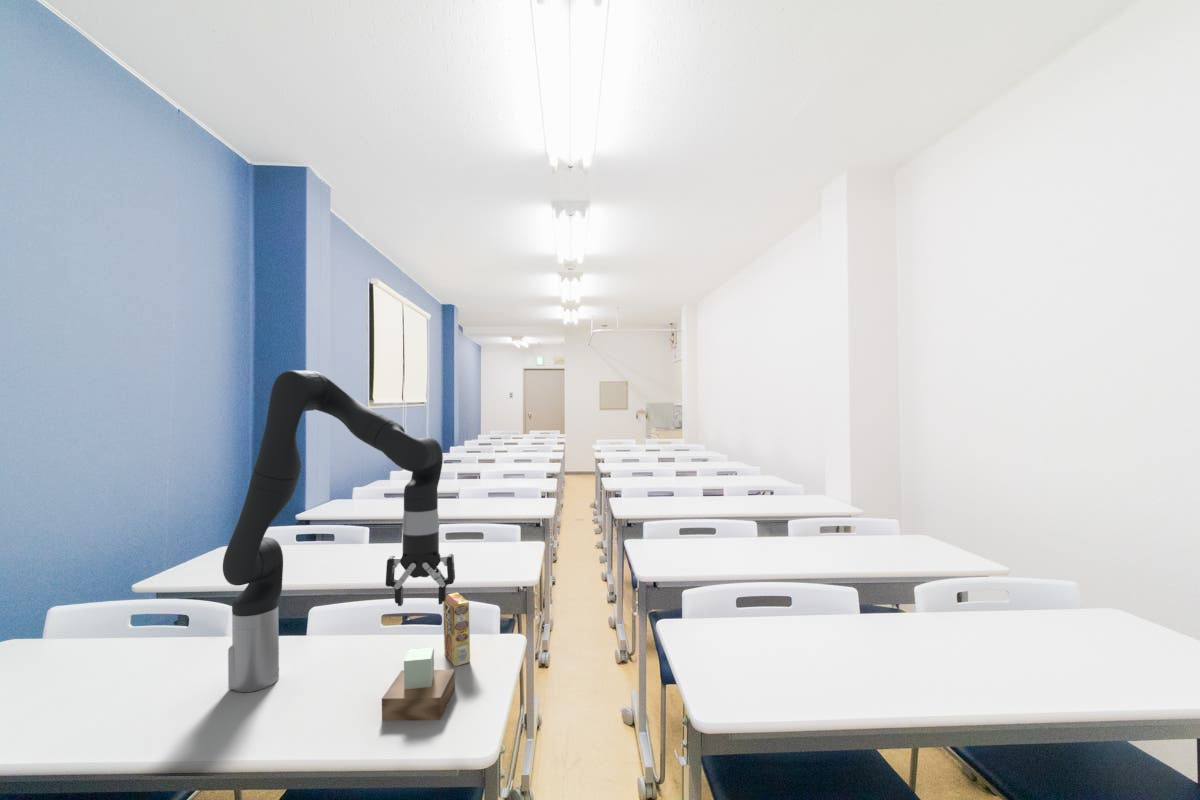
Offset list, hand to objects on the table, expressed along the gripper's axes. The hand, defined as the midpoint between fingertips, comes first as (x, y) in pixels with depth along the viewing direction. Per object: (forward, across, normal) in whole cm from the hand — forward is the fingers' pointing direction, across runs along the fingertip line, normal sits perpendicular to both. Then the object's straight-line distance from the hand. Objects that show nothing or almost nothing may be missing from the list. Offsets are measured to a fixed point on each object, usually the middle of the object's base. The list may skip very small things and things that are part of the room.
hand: (420, 603), depth 122 cm
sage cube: (+17, 0, 0) cm, 17 cm away
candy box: (+22, +5, +20) cm, 30 cm away
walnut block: (+22, 0, -1) cm, 22 cm away
